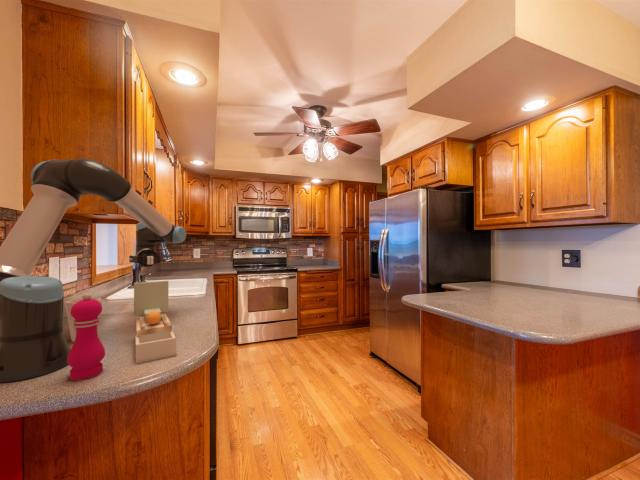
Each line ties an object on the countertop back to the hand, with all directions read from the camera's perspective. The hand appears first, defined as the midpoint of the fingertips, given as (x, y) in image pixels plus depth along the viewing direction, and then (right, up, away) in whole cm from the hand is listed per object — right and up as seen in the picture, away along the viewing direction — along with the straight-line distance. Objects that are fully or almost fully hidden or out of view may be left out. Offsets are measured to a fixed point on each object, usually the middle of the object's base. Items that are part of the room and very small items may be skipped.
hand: (150, 260), depth 101 cm
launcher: (+7, -26, -10) cm, 29 cm away
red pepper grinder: (-19, -26, -5) cm, 33 cm away
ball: (+9, -17, -13) cm, 23 cm away
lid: (+5, -19, -8) cm, 21 cm away
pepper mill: (+3, -26, -31) cm, 41 cm away
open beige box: (+13, -26, -19) cm, 34 cm away
